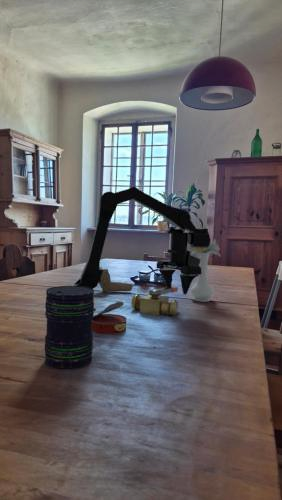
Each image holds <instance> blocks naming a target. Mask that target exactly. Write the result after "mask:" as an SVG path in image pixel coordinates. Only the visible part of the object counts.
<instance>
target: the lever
mask: <svg viewBox="0 0 282 500" xmlns="http://www.w3.org/2000/svg"><path fill="white" fill-rule="evenodd" d="M178 288H179V286H173V285H171V286H169V287H166V286H165V287H161V288H155V289H154V288H153V289H152V288H151V289H149V290H148V295H151V296H162V295H165V294H170V293H172V294H173V293H178V291H179V289H178Z"/></svg>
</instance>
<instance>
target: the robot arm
mask: <svg viewBox="0 0 282 500" xmlns="http://www.w3.org/2000/svg"><path fill="white" fill-rule="evenodd" d="M129 201H133V202H135V203H137V204H139V205H141V206H142V207H145V208H146V209H148V210H151V211H153V212H154V213H156V214H157V215H160V216H161V217H162V218H163V219H164V220H165V221H167V223H169V224H170V225H172V226H170V227H169V228H168V229H167V230H165V231H164V232H165V234H170V249H167V253H169V259H168V260H167V259H165V260H158V261H157V262H156V267H155V268H156V269H157V271H159V273H160V275H161V277H162V279H163V282H164V284H165V288H166V287H169V286H172V284H173V275H174V273H175V272H176V270H177V271H179V272H180V273H181V274H179V278H180V283H181V284H180V285H181V289H182V293H183V295H185V296H186V295H187V294H188V291H189V289H190V286H191V285H192V282H193V280H194V279H195V278H196V277H197V278H198V277H199V275H200V274H201V272H202V268H201V267H200V261H201V260H200V258H198V257H197V256H196V257H195V256H193V255H191V254H190V251H189V249H188V245H189V246H191V247H195V248H208V247H209V245H210V240H211V238H210V237H211V236H210V233H209V229H208V228H206V227H205V228H196V226H195V224H194V223H193V221H192V220H191V219H192V217H191V215H190V212H188V211H187V210H184V209H181V208H178V207H174V206H172V205H171V206H170V205H167V204H166V203H164V202H162V201H161V200H158V199H157V198H155V197H153V196H151V195H149V194H148V193H145V192H143V191H142V190H140V189H139V188H137V187H135V186H131V187H129V188H127V189H123V190H120V191H117V192H112V191H105V192H104V193H102V195H101V196H100V197H99V201H98V213H97V214H98V216H97V217H98V218H97V223H96V226H95V231H94V234H93V240H92V244H91V247H90V251H89V255H88V260H86V263H85V265H84V267H83V269H82V272H81V275H80V278H79V279H78V280H76V282H74V284H73V286H83V287H89V288H92V289H95V288H97V286H98V285H99V282H101V275H102V273H103V267H100V262H101V259H102V254H103V250H104V246H105V241H106V238H107V237H106V236H107V233H108V230H109V226H110V222H111V219H112V218H113V216H114V213H115V211H116V209H117V206H118V205H119V204H122V203H125V202H129ZM174 227H175V228H174ZM184 231H188V232H184ZM96 310H97V309H96V308H95V307H94V308H93V312H94V311H96Z"/></svg>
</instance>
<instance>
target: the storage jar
mask: <svg viewBox="0 0 282 500" xmlns="http://www.w3.org/2000/svg"><path fill="white" fill-rule="evenodd" d="M94 290H95V288H93V289H92V288H89V287H83V286H74V285H58V286H52V287H49V288H47V289H46V291H45V295H46V296H45V301H46V302H45V303H44V304H45V305H44V308H45V313H44V315H45V319H46V333H45V336H44V352H45V353H44V357H45V358H44V363H45V366H47V367H48V368H50V369H52V370H58V371H73V370H74V371H75V370H79V369H83V368H85V367H88V366H90V365H91V363H92V361H93V357H92V355H93V349H94V342H93V341H94V335H93V333H92V332H93V331H92V317H93V316H94V314H95V312H94V311H93V308H95V299H94V293H95V291H94Z"/></svg>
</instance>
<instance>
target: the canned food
mask: <svg viewBox="0 0 282 500" xmlns="http://www.w3.org/2000/svg"><path fill="white" fill-rule="evenodd" d="M124 305H125V303H124V302H123V301H116V302H115V303H111V304H109V305H108V306H107V307H106V308H104V309H103V310H101V312H99V313H97V314H95V315H93V317H92V332H93V333H95V332H96V334H100V335H116V334H117V335H118V334H122V333H124V332H126V330H127V317H125V316H124V315H120V314H116V313H115V314H114V313H109V312H113V311H115V310H117V309H119V308H122V307H123V306H124Z"/></svg>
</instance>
